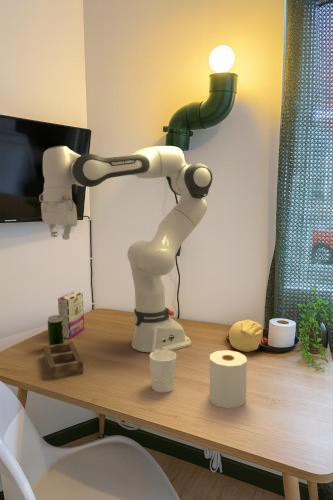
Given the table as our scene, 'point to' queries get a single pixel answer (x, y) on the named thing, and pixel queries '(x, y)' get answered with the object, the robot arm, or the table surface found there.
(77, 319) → the candy bar box
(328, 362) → the table surface
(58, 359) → the shelf
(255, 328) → the sculpture
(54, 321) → the beer can
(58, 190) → the robot arm
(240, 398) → the toilet paper
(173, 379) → the white cup
